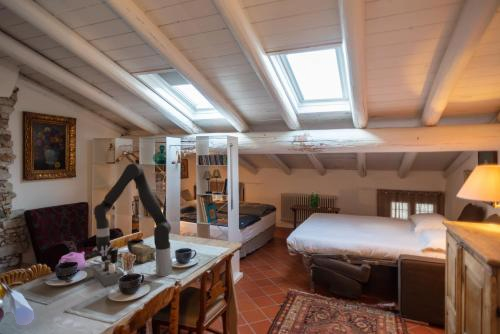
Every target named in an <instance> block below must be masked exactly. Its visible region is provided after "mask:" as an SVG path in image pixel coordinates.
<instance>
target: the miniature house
mask: <svg viewBox="0 0 500 334" xmlns="http://www.w3.org/2000/svg"><path fill="white" fill-rule="evenodd" d="M131 253H132V254H134V255H136V260H135V262H134V263H136V264H137V265H139V264H140V265H144V264H147V263H149V262H151V263H152V262H154V261H155V262H156V248H155V247H154V248H153V247H152V246H151V245H147V244H143V243H140V242H139V243H135V244H133V245H131V252H130V254H131ZM132 254H131V255H132Z"/></svg>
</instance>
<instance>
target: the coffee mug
mask: <svg viewBox="0 0 500 334" xmlns="http://www.w3.org/2000/svg"><path fill="white" fill-rule="evenodd" d="M109 248H110V246H109ZM109 248H108V249H109ZM108 249H107V251H108ZM118 253H119V247H118V246H114V248H113V249H112V251H111V252H110V254H108V255H107V260H111V263H112V264H115V265H116V264H117V262H118V255H119V254H118ZM107 260H106V261H107Z"/></svg>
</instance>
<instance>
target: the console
mask: <svg viewBox="0 0 500 334" xmlns="http://www.w3.org/2000/svg"><path fill="white" fill-rule="evenodd" d="M111 264H112V263H111ZM123 275H124V271H123V270H121V269H120V268H118V266H116V265H115V274H113V275H109V271H106V272H105V267H104V268H101V264H99V265H95V266H92V276H93V278H94V279H95V280H96V281H97V282H99V284H100V285H101V286H102V287H104V288H108V287H111V286H114V285H119V283H118V279H119V278H120V277H121V276H123Z"/></svg>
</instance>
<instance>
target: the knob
mask: <svg viewBox="0 0 500 334" xmlns="http://www.w3.org/2000/svg"><path fill="white" fill-rule="evenodd" d="M115 266H116V263H115V264H109V275H113V274H115Z"/></svg>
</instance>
